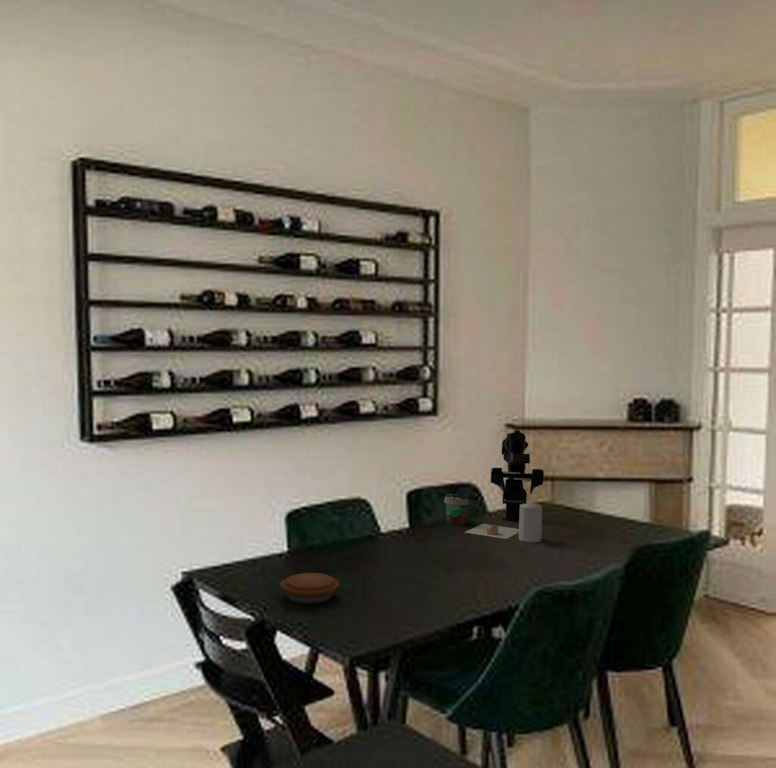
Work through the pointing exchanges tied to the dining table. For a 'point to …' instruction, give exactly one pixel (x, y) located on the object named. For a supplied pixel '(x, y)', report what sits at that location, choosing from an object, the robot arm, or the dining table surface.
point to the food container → (456, 510)
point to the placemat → (502, 533)
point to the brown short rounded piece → (492, 530)
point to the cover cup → (530, 522)
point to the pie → (309, 587)
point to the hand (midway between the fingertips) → (517, 492)
